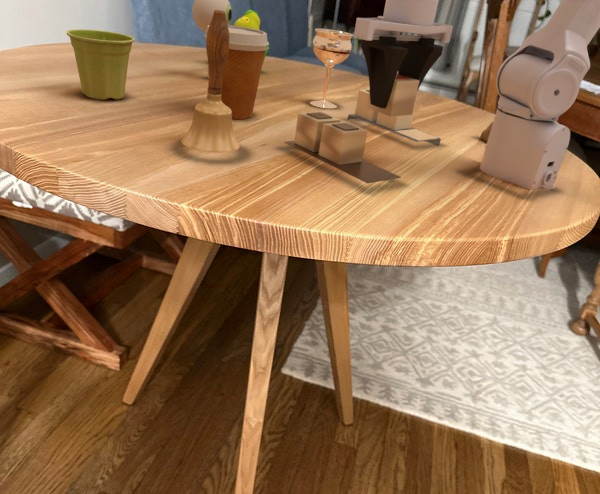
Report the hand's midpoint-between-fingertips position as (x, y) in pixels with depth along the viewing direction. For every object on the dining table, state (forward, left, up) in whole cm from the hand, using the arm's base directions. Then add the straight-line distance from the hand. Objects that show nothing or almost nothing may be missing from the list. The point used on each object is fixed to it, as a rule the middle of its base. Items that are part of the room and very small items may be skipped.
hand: (390, 105), depth 69 cm
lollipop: (+51, -6, -9) cm, 52 cm away
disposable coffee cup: (+28, +4, -9) cm, 30 cm away
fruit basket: (+60, -19, -9) cm, 64 cm away
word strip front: (+3, +4, -8) cm, 10 cm away
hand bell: (+13, +17, -9) cm, 23 cm away
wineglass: (+30, -17, -9) cm, 36 cm away
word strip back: (+13, -17, -8) cm, 23 cm away
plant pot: (+41, +19, -9) cm, 46 cm away
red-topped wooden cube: (0, 0, -1) cm, 1 cm away
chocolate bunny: (+2, -33, -9) cm, 34 cm away
